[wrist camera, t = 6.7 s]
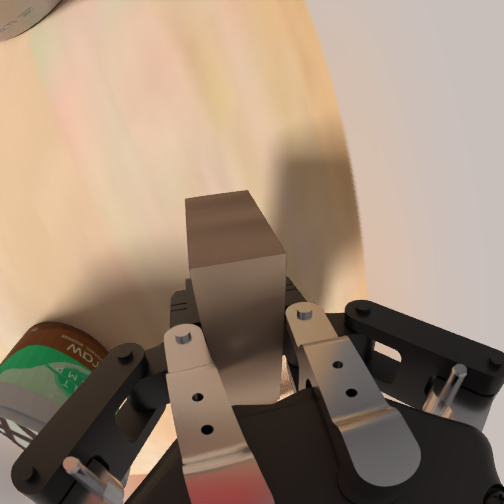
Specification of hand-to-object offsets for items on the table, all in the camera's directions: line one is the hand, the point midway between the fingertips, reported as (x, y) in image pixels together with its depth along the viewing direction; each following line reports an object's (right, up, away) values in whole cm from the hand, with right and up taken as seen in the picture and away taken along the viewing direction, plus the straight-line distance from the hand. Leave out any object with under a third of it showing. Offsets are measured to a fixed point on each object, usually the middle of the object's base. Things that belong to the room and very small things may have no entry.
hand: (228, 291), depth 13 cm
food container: (-12, -6, +6) cm, 15 cm away
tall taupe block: (0, -2, +2) cm, 3 cm away
